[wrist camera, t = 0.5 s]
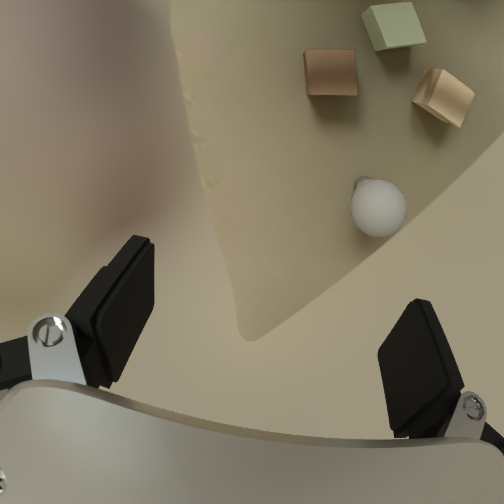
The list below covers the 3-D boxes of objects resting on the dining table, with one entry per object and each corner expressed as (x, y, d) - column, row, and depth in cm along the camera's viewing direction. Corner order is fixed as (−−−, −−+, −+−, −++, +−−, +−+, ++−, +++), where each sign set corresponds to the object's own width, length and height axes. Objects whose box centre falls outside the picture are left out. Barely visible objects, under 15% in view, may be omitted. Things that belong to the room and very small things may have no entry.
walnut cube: (303, 53, 29) (305, 49, 25) (345, 54, 29) (354, 50, 24) (306, 93, 32) (309, 95, 28) (348, 93, 31) (357, 95, 27)
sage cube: (360, 14, 25) (370, 5, 21) (396, 10, 24) (411, 2, 20) (374, 51, 28) (387, 47, 23) (410, 46, 26) (426, 42, 22)
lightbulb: (337, 162, 36) (355, 193, 26) (384, 159, 35) (416, 189, 25) (341, 207, 39) (356, 251, 29) (385, 203, 38) (412, 245, 28)
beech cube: (425, 69, 28) (443, 68, 23) (455, 89, 28) (474, 93, 24) (411, 101, 30) (427, 105, 26) (441, 120, 31) (460, 127, 26)
